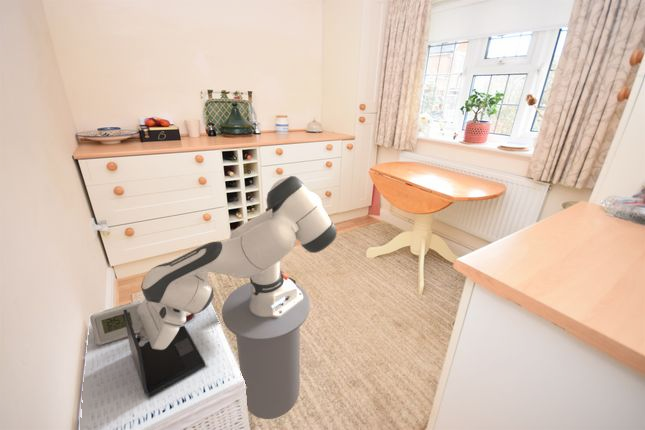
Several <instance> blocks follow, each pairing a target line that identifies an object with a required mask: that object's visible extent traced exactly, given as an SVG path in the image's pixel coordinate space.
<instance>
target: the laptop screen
mask: <svg viewBox="0 0 645 430" xmlns="http://www.w3.org/2000/svg"><path fill="white" fill-rule="evenodd" d="M123 311H124V316H125V322H126V327H127V333H128V337H127V338H128V343H129V349H130V353H131V356H132V359H133V361H134V366H135V368H136V372H137V375H138V379H139V382H140V384H141V388H142V391H143V393H144V394H143V395H144V396H146V395H147V394H148V391H147V385H146V379H145V373H144V367H143V361H142V355H141V350H140V347H139V344H138V341H137V336H136V334H135V333H134V330H133V327H132V324H131V321H130V318H129V315H128V312H127V310H123ZM148 395H149V394H148Z"/></svg>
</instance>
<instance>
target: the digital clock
mask: <svg viewBox="0 0 645 430" xmlns="http://www.w3.org/2000/svg"><path fill="white" fill-rule="evenodd" d="M143 301H144V300H138V301H135V302H130V303H126V304H123V305H119V306H116V307H112V308H108V309H105V310H104V311H100V312H96V313H93V314H91V315H90V316H89V319H90V324H91V328H92V332H93V336H94V339H95V343H96V345H98V346H101V345H105V344H108V343H113V342H116V341H119V340H122V339H125V338H128V333H127V327H126V322H125V316H124V311H123V310H127V312H128V315H129V318H130V321H131V324H132V327H133V330H134V333H135V335H137V334H139V332H140V329H141V327H142V325H143V324H142V322H141V319H140V317H139V314H138V312H137V310H138V307H139V305H140V304H141V303H142V302H143Z"/></svg>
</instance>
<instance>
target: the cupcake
mask: <svg viewBox="0 0 645 430" xmlns="http://www.w3.org/2000/svg"><path fill="white" fill-rule="evenodd" d="M185 314H186V322H188V321H189V322H190V321H191V320H192V319H193V318H194V317H195V314H194V313H188V312H185Z"/></svg>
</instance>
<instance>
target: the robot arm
mask: <svg viewBox="0 0 645 430" xmlns="http://www.w3.org/2000/svg"><path fill="white" fill-rule="evenodd" d="M304 184H305V183H304V182H303V181H302V180H301V179H300V178H298V177H297V176H296V175H290V176H287V177H283V178H280V179H279V180H277V181H276V182H275V183H273V185H272V186H271V187H270V189H269V191H268V192H267V195H266V199H265V200H266V208H265V211H264V212H262V213H261V214H259V215H256V216H255V217H253V218H251V219H250V220H248V221H246V222H244V223H243V224H241V225H240V226H237V228H235V229H233V230H232V231H231V232H230V236H229V239H226V240H220V241H211V242H207V243H205V244H203V245H201V246H199V247H197V248H194V249H193V250H191V251H189V252H187V253H185V254H183V255H181V256H178V257H177V258H175V259H173V260H171V261H168V262H165V263H164V262H163V263H161V264H157V265H156V266H154V267H152V268H151V269H150V270H149V271H148V272H147V273H146V275H145V276H144V278H143V279H142V282H141V286H140V287H141V291H142V294H143V297H144V299H143V300H142V301H143V302H142V303H141V304H140V305H139V307H138V310H137V312H138V314H139V317H140V319H141V322H142V324H143V325H142V327H141V329H140V332H139V333H138V335H137V336H136V338H137V341H138V344H139V346H144V344H145V343H146V342H148V341H149V342H150V344H151V347H152V348H153V349H157V350H163V349H166V348H167V347H168V345H169V344H170V343H171V341H172V340H173V339H174V337H175V336H176V334H177V333H178V331H179V327H182V326H185V324H186V322H187V321H186V314H185V312H188V313H194V315H197V314H199V313H201V312H203V311H205V310H206V309H207V308H208V307H209V305H210V304H211V302H212V300H213V298H214V288H213V286H212V284H211V283H210V279H209V272H210V273H217V274H221V275H222V274H223V275H226V276H229V277H234V278H237V279H249V282H250V286H251V291H252V293H251V301H250V304H249V308H250V311H251V312H252V313H253V314H255V315H257V316H261V317H274V318H280V317H281V316H283V315H284V314H285V313H286V312H288V311H289V310H290V309H292V308H293V307H294V306H295V305H297V304H298V303H299V302H301V301H302V300H303V294H302V292H301V291H300V290H299V289H298V288H297V287H296V284H297V283H296V280H295V279H293V278H292V277H291V276H289V275H288V274H287V273H284V272H283V271H282V270H281V260H283V259H284V258H285V257H286V256H287V255H288V254H289V253H291V251H292V250H293V249H294V248H295V246H296V244H297V241H298V242H299V243H300V244H301V245H300V246H301V247H302V248H303V249H304V250H305V251H307V252H308V253H311V254H312V253H313V254H316V253H320V252H323V251H324V250H326V249H327V248H329V247H330V246H331V245H332V243H333V242H334V241H335V240H336V238H337V233H338V231H337V228H336V226H335V224H334V222H333V221H332V220H331V219H330V216H329V215H328V212H327V211H326V210H325V208H324V207H323V203H322V200H321V198H320V197H319V195H317V194H316V193H315V192H313V191H311V190H309V189H308V188H307V187H306V186H305V185H304Z"/></svg>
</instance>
